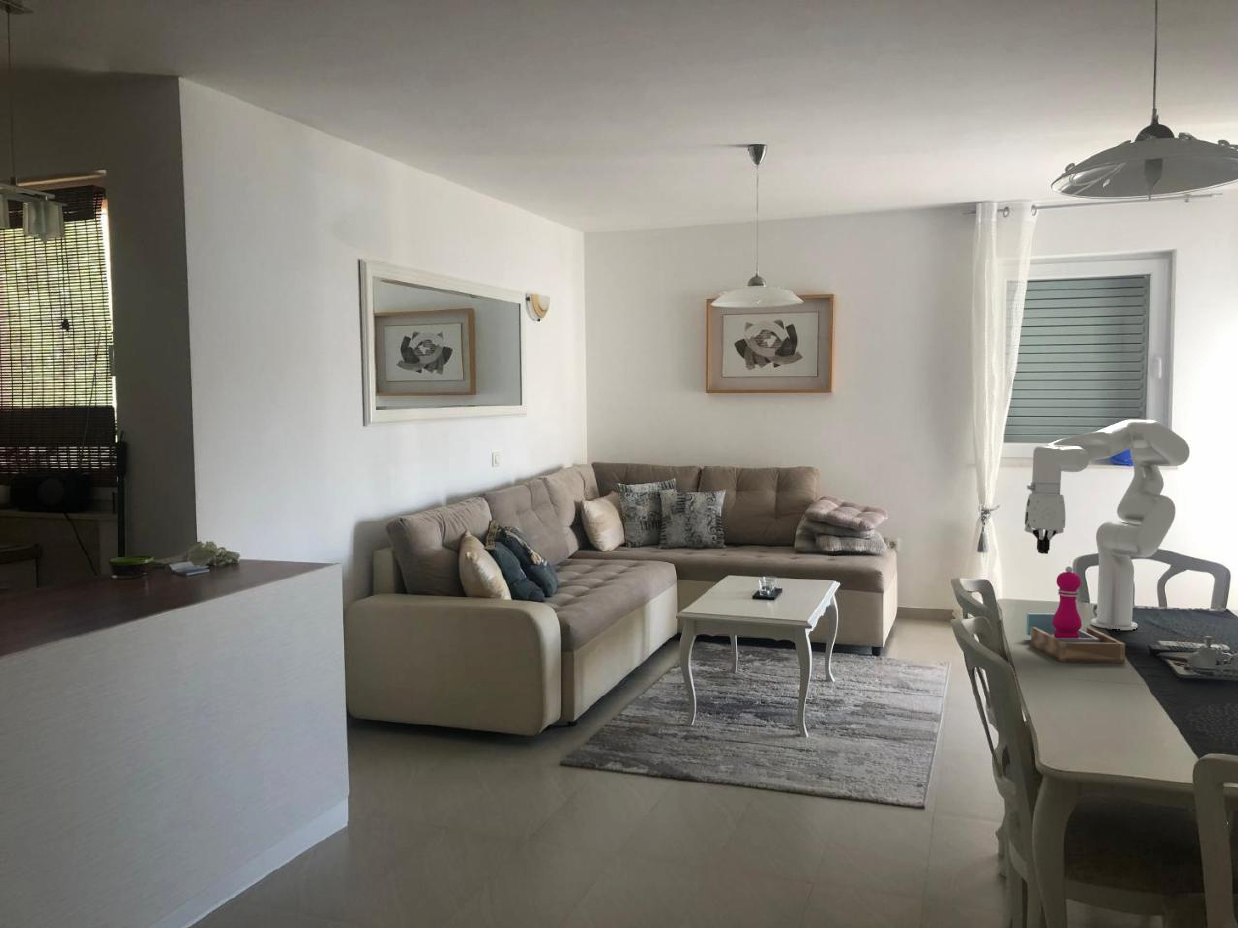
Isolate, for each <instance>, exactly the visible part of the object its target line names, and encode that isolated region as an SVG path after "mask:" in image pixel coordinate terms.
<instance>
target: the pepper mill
mask: <svg viewBox="0 0 1238 928" xmlns="http://www.w3.org/2000/svg"><path fill="white" fill-rule="evenodd" d="M1073 569H1074V568H1073V567H1072V566H1066V567H1065V571H1064V572H1061V573H1060V574H1058V575H1057V577H1056V585H1057V586H1058V588H1059V589H1058V590H1057V591H1058V592H1057V594H1058V596H1059V604H1058V607H1057V610H1056V611H1055V612H1054V613H1055V615H1054V618H1053V626H1054V627H1055V628H1056V630H1057V631H1055V632H1054V637H1055V638H1079V633H1077V631H1078V630H1079V629H1080V630H1081V628H1082V625H1083V624H1082V619H1081V616H1080V613H1079V612H1078V611H1079V610H1078V608H1077V597H1078V596H1079V591H1078V589H1079V588H1080V587H1081V583H1082V581H1081V578H1080V576H1079V575H1078V574H1077V573H1074V572H1073Z"/></svg>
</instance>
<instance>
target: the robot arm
mask: <svg viewBox="0 0 1238 928" xmlns="http://www.w3.org/2000/svg"><path fill="white" fill-rule="evenodd" d="M1126 451H1130V457H1131V462H1132V466H1133V478H1132V480H1131V482H1130V484H1129V486H1128V487H1127V489H1126V490H1125V493H1124V494H1123V496H1122V498H1121V499H1120V501H1119V504H1118V506H1117V509H1116V514H1117V517H1118V518H1119V519H1121V521H1119V520H1111V521H1109V520H1108V521H1105V522H1104V523H1102V524H1101V525H1099V527H1098V528H1097V531H1096V533H1095V534H1096V535H1095V539H1096V547H1097V552H1098V573H1097V574H1098V576H1097V577H1098V578H1097V599H1096V601H1097V602H1096V609H1095V610H1094V612H1095V614H1096V618H1095V617H1094V618H1092V619H1091V620H1090V624H1091V625H1092V626H1093V627H1097V628H1100V629H1105V628H1106V629H1107V630H1112V629H1117V630H1116V631H1133V629H1135V630H1137V629H1138V628H1139V627H1138V626H1139V625H1138V623H1137V622H1134V621H1133V606H1134V585H1135V583H1134V582H1135V581H1134V580H1135V566H1134V564H1133V561H1132V558H1131V557H1136V558H1137V557H1138V558H1150V557H1151V556H1152V555H1154V554H1155V553H1156V552H1158V550H1159V547H1160V546H1161V544H1162V542H1163V541H1164V539H1165V537H1166V536H1167V534H1168V532H1169V530H1170V528H1171V527H1172V524H1173V522H1174V520H1175V517H1176V505H1175V503H1174V501H1173V500H1172V498H1170V497H1169V496H1166V495H1163V494H1161V493H1162V492H1163V488H1164V485H1165V484H1164V478H1163V476H1162V474H1161V471H1160V468H1159V466H1164V467H1165V466H1167V467H1178V466H1182V465H1183V464H1185V463H1187V461H1188V459H1189V456H1190V452H1191V451H1190V447H1189V444H1188V443H1187V441H1186V440H1185V439H1184V438H1183V437H1181V436H1180V435H1179V434H1177V433H1176V432H1175V431H1173V430H1172V429H1170V428H1169V427H1167V426H1166V425H1164V424H1163V423H1161V422H1159V421H1157V420H1153V419H1125V420H1121V421H1119V422H1117V423H1114V424H1111V425H1108V426H1106V427H1103V428H1102V429H1098V430H1096V431H1092V432H1086V433H1082V434H1079V435H1078V434H1077V435H1073V436H1069V437H1064V438H1061V439H1058V440H1056V441H1053V442H1050V443H1047V444H1046V445H1044V446H1043V445H1040V446H1036V447H1035V448H1034V449H1033V453H1032V454H1033V455H1032V456H1033V458H1032V475H1031V476H1032V478H1031V482H1030V483H1031V484H1027V486H1026V488H1027V490H1029V491H1030V492H1031V493H1029V494H1028V496H1027V497H1028V498H1027V501H1026V506H1025V512H1024V513H1025V514H1024V532H1026V533H1030V534H1032V535H1033V536H1034V537H1035V539H1036V541H1037V542H1036V550H1037V552H1038V553H1039V554H1043V555H1044V554H1046V555H1047V554H1049V551H1050V546H1051V545H1050V544H1051V540H1052V539H1053V537H1054V536H1056V535H1059V534H1063V533H1064V529H1065V528H1066V503H1065V497H1064V494H1061V482H1062V472H1067V473H1078V472H1082V471H1083V470H1085V469H1086V468H1088V466H1089V465H1090V461H1096V460H1098V461H1099V460H1104V459H1109V458H1112V457H1114V456H1116V455H1118V454H1121V453H1123V452H1126ZM1137 627H1138V628H1137ZM1136 628H1137V629H1136ZM1106 629H1105V630H1106ZM1118 629H1120V630H1118Z"/></svg>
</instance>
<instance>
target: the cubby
mask: <svg viewBox="0 0 1238 928" xmlns="http://www.w3.org/2000/svg"><path fill="white" fill-rule="evenodd" d="M1086 633H1088V634H1090V635H1092V636H1094V637H1096V638H1098V639H1100V643H1095V642H1063V641H1061V640H1059V639H1057V638H1055V637H1053V636H1052V635H1050V634H1048V633H1046V632H1044V631H1042V630H1040V629H1038V628H1037V627H1032V631H1031V636H1030V646H1031V647H1033V648H1035V649H1037V650H1039V651H1040V652H1042V653H1044V654H1046V655H1047V656H1049V657H1051V658H1053V659H1054V660H1055V661H1058V662H1059V663H1071V664H1072V663H1075V664H1076V663H1077V664H1078V663H1083V664H1085V663H1086V664H1094V663H1095V664H1125V660H1126V659H1125V656H1126V654H1125V653H1126V643H1125V642H1122V641H1120V640H1118V639H1116V638H1114V637H1112V636H1110V635H1107V634H1105V633H1103V632H1100V631H1099V630H1097V629H1095V628H1093V627H1086Z"/></svg>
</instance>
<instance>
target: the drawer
mask: <svg viewBox="0 0 1238 928" xmlns="http://www.w3.org/2000/svg"><path fill="white" fill-rule="evenodd" d="M1055 613H1056V612H1054V613H1053V612H1052V613H1050V612H1049V613H1048V612H1047V613H1046V612H1043V613H1042V612H1033V613H1032V612H1026V635H1027V636H1030V637H1031V631H1032V627H1037V628H1038V629H1040V630H1042V631H1044V632H1046V633H1048V634H1050V635H1052V636H1053V637H1054V632H1055V631H1057V630H1056V628H1055V627H1054V626H1053V618H1054V615H1055ZM1077 633H1079V638H1057V639H1059V640H1061V641H1063V642H1095V643H1100V639H1098V638H1096V637H1094V636H1092V635H1090V634H1088V633H1087V631H1084V630H1081V628H1080V629H1079V630H1078V631H1077Z"/></svg>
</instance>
